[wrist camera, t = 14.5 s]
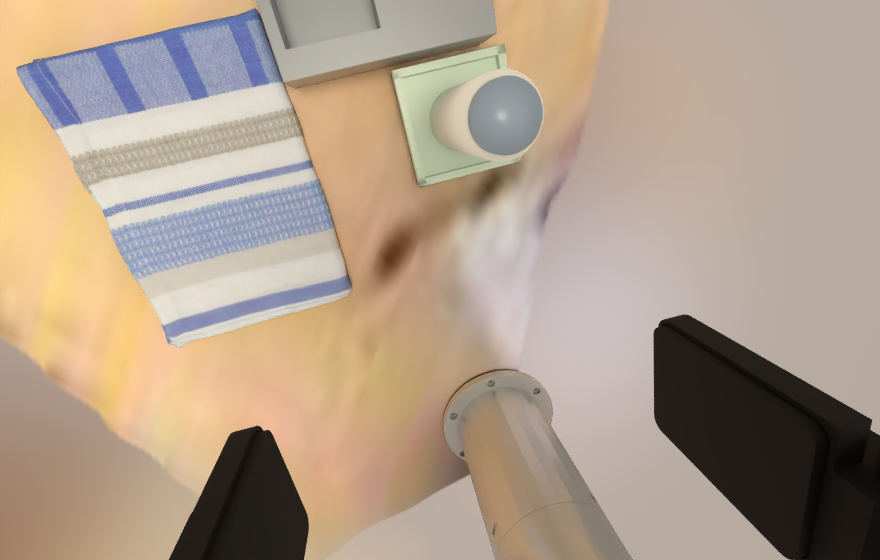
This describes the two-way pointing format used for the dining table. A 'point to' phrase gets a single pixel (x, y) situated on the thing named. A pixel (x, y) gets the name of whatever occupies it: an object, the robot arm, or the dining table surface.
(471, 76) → the tray
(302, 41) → the housing
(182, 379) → the dining table surface
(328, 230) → the dish towel
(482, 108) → the cylinder
